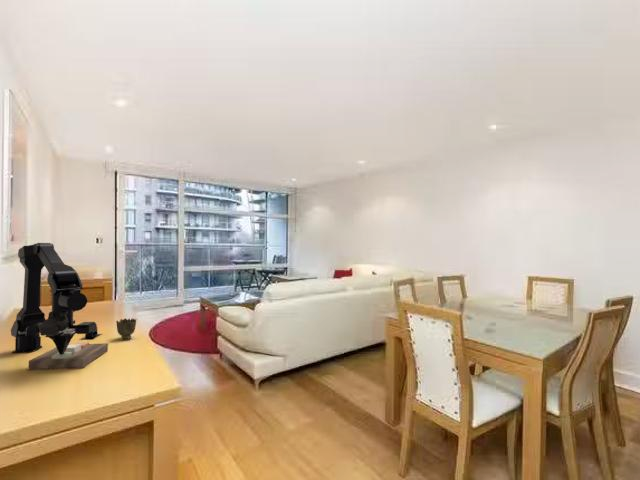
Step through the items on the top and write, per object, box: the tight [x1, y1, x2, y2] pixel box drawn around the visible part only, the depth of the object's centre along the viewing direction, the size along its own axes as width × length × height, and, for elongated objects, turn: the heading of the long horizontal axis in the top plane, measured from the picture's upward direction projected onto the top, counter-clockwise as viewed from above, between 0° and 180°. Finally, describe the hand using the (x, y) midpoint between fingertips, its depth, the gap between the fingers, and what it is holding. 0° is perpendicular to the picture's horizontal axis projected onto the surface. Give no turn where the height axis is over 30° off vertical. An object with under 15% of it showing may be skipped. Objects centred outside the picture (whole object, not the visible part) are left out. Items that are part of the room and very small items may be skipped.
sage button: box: [51, 352, 72, 359], centre depth 112 cm, size 4×4×3 cm
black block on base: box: [79, 328, 103, 341], centre depth 146 cm, size 12×7×5 cm, turn 8°
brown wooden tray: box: [28, 342, 109, 371], centre depth 117 cm, size 16×17×3 cm
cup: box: [115, 318, 137, 341], centre depth 143 cm, size 8×7×8 cm
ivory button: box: [65, 343, 81, 353], centre depth 117 cm, size 4×4×3 cm
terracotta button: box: [75, 341, 90, 348], centre depth 123 cm, size 4×4×3 cm
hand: (61, 354), depth 112 cm, fingers closed, pressing on sage button
